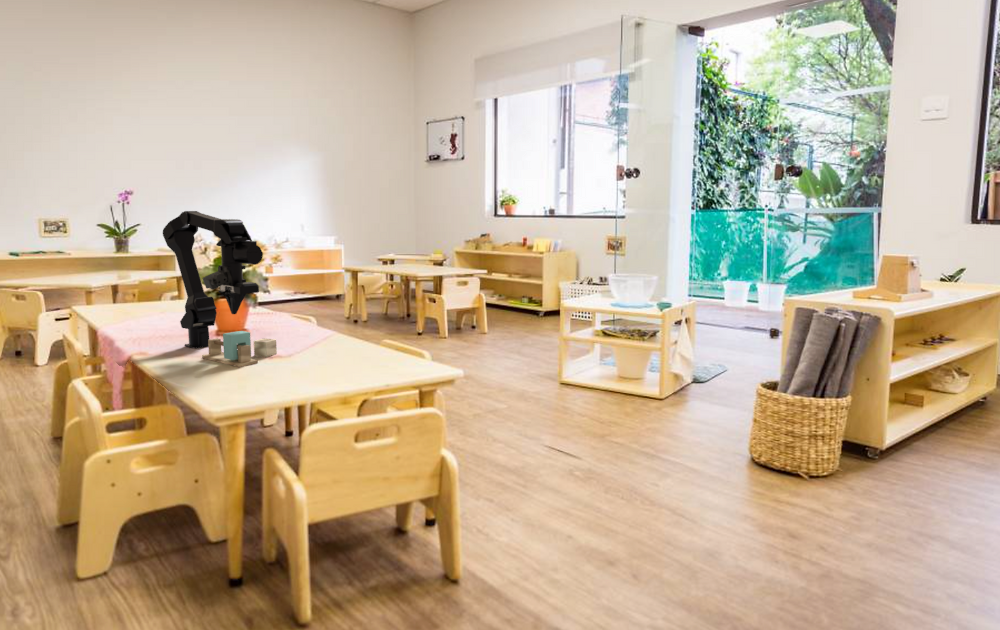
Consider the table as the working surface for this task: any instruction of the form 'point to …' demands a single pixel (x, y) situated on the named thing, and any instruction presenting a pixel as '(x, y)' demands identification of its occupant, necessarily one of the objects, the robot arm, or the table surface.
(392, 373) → the table surface
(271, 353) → the maple cube
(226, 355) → the bead
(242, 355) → the rail
